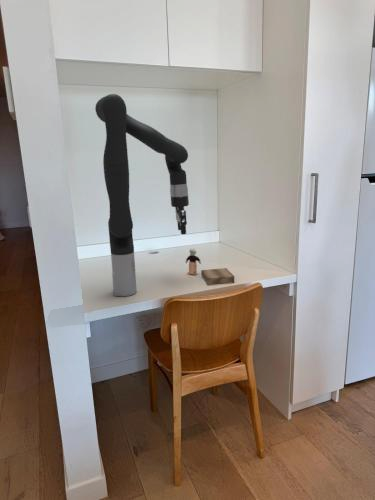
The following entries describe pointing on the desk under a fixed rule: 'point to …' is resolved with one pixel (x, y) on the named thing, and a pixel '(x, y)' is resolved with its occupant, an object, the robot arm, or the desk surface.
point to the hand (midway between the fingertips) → (182, 232)
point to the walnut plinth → (217, 276)
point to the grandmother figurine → (192, 262)
